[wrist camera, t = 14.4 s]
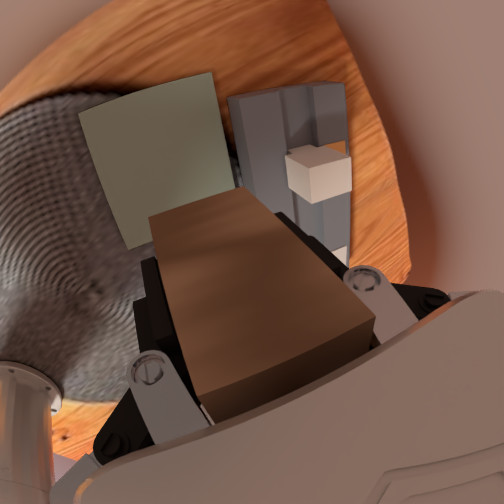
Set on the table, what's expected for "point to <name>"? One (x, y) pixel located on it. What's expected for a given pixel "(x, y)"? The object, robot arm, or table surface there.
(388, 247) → the table surface
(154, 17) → the table surface
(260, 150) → the switch panel
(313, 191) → the switch tab
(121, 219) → the mat
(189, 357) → the brown block
